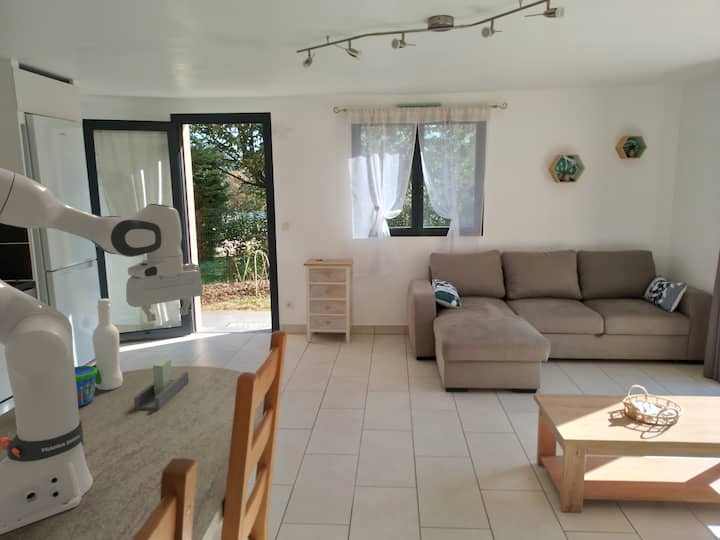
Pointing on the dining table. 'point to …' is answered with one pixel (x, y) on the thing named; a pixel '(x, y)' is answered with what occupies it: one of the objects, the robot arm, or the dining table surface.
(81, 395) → the snack cup
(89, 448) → the dining table surface
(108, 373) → the bottle
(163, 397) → the track
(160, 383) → the door panel
